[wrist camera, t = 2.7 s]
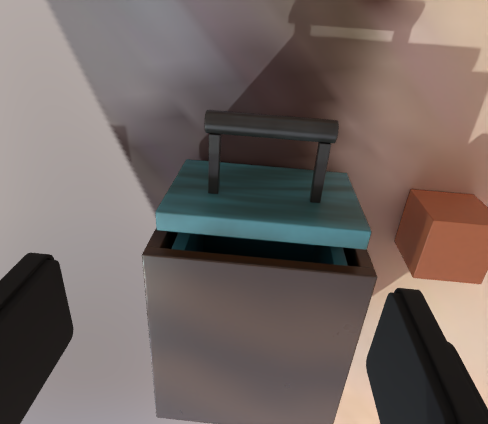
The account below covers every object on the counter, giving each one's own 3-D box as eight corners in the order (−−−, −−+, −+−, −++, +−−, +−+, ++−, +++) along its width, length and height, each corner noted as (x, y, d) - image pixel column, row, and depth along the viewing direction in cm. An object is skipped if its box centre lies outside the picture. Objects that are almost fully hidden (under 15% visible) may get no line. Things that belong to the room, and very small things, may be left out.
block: (474, 194, 27) (508, 226, 23) (453, 246, 29) (481, 284, 25) (410, 188, 27) (433, 220, 23) (394, 241, 29) (412, 278, 25)
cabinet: (181, 181, 28) (141, 254, 20) (347, 195, 28) (377, 276, 19) (184, 320, 35) (156, 417, 27) (316, 334, 35) (329, 437, 27)
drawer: (185, 89, 24) (149, 121, 17) (361, 103, 24) (396, 142, 17) (188, 301, 33) (165, 378, 26) (316, 314, 33) (327, 395, 26)
